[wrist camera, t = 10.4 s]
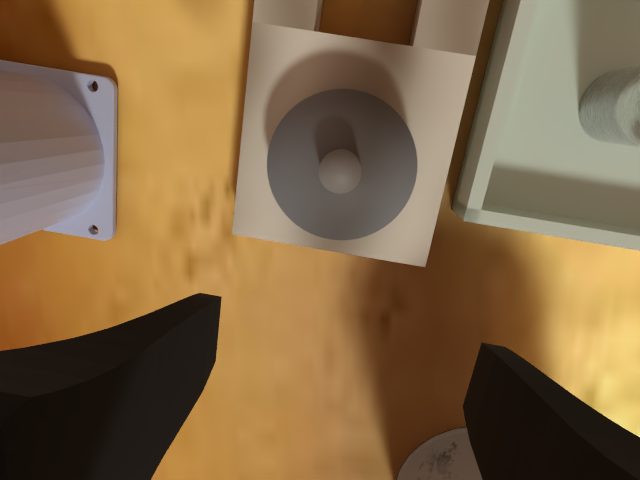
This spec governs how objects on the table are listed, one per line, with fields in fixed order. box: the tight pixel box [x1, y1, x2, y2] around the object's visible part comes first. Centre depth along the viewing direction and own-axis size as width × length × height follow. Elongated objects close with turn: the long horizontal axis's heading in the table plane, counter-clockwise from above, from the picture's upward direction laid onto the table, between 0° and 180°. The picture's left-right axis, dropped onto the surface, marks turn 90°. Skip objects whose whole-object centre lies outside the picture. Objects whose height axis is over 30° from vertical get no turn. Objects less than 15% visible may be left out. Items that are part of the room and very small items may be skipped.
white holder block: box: [232, 0, 489, 267], centre depth 17 cm, size 9×16×5 cm, turn 171°
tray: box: [451, 0, 640, 251], centre depth 18 cm, size 12×11×2 cm
